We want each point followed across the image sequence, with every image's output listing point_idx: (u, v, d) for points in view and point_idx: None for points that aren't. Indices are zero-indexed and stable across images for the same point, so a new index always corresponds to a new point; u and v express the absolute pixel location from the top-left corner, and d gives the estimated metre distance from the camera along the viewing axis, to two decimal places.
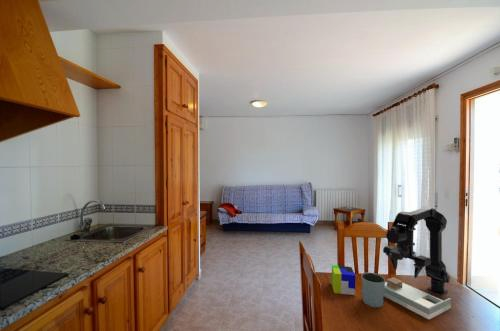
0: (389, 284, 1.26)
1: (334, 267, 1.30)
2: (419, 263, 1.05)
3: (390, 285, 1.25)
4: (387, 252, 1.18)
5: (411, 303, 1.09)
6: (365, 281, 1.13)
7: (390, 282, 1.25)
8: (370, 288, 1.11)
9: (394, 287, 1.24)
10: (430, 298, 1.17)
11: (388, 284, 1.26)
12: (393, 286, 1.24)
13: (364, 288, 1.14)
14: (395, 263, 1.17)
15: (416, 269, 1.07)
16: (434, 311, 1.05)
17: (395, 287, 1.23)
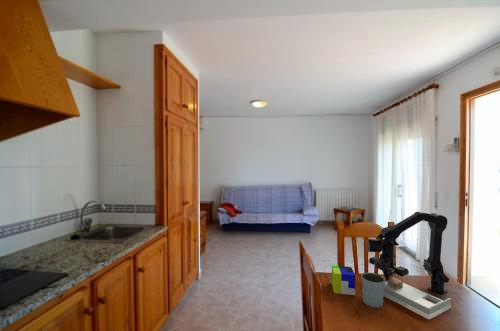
0: (389, 284, 1.26)
1: (334, 267, 1.30)
2: (398, 273, 1.21)
3: (390, 285, 1.25)
4: (372, 263, 1.34)
5: (411, 303, 1.09)
6: (365, 281, 1.13)
7: (390, 282, 1.25)
8: (370, 288, 1.11)
9: (394, 287, 1.23)
10: (430, 298, 1.17)
11: (388, 284, 1.26)
12: (393, 286, 1.24)
13: (364, 288, 1.14)
14: None
15: (388, 275, 1.28)
16: (434, 311, 1.05)
17: (395, 287, 1.23)
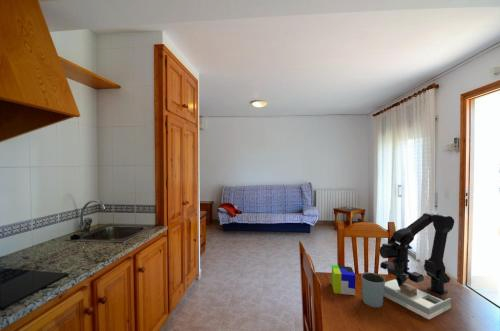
0: (403, 291, 1.19)
1: (334, 267, 1.30)
2: (413, 279, 1.15)
3: (404, 292, 1.19)
4: (384, 267, 1.28)
5: (411, 303, 1.09)
6: (365, 281, 1.13)
7: (404, 289, 1.19)
8: (370, 288, 1.11)
9: (408, 294, 1.17)
10: (430, 298, 1.17)
11: (402, 291, 1.20)
12: (407, 293, 1.18)
13: (364, 288, 1.14)
14: None
15: (401, 280, 1.22)
16: (434, 311, 1.05)
17: (409, 294, 1.17)
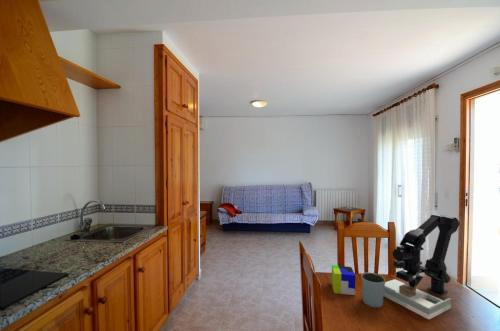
0: (402, 291, 1.19)
1: (334, 267, 1.30)
2: None
3: (403, 292, 1.19)
4: None
5: (411, 303, 1.09)
6: (365, 281, 1.13)
7: (403, 289, 1.19)
8: (370, 288, 1.11)
9: (407, 294, 1.17)
10: (430, 298, 1.17)
11: (401, 291, 1.19)
12: (406, 293, 1.17)
13: (364, 288, 1.14)
14: None
15: None
16: (434, 311, 1.05)
17: (408, 294, 1.16)
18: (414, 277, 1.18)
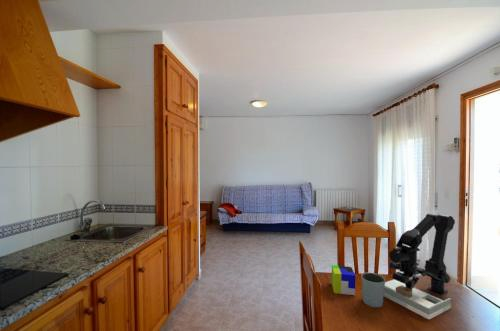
0: None
1: (334, 267, 1.30)
2: None
3: None
4: None
5: (411, 303, 1.09)
6: (365, 281, 1.13)
7: (399, 290, 1.17)
8: (370, 288, 1.11)
9: None
10: (430, 298, 1.17)
11: None
12: None
13: (364, 288, 1.14)
14: None
15: None
16: (434, 311, 1.05)
17: (405, 296, 1.15)
18: (410, 278, 1.16)
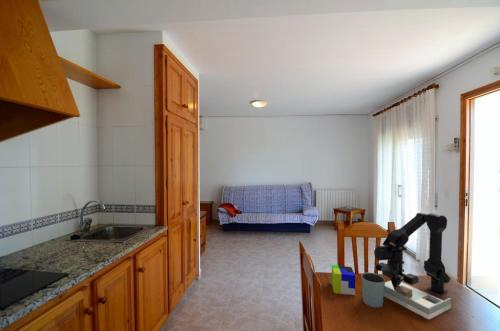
0: None
1: (334, 267, 1.30)
2: (407, 281, 1.13)
3: None
4: (379, 269, 1.26)
5: (411, 303, 1.09)
6: (365, 281, 1.13)
7: (399, 290, 1.17)
8: (370, 288, 1.11)
9: None
10: (430, 298, 1.17)
11: None
12: None
13: (364, 288, 1.14)
14: None
15: (396, 282, 1.20)
16: (434, 311, 1.05)
17: (405, 296, 1.15)
18: None
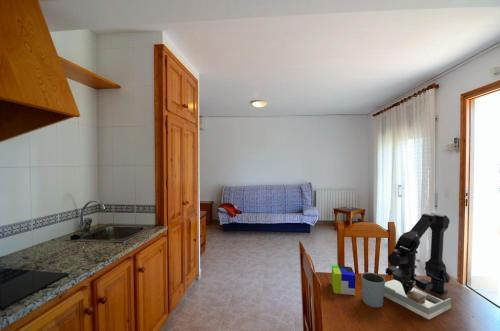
0: None
1: (334, 267, 1.30)
2: (420, 287, 1.08)
3: None
4: (389, 273, 1.21)
5: (411, 303, 1.09)
6: (365, 281, 1.13)
7: (411, 296, 1.12)
8: (370, 288, 1.11)
9: None
10: (430, 298, 1.17)
11: (409, 298, 1.13)
12: (415, 301, 1.11)
13: (364, 288, 1.14)
14: None
15: (408, 287, 1.15)
16: (434, 311, 1.05)
17: (417, 302, 1.10)
18: None
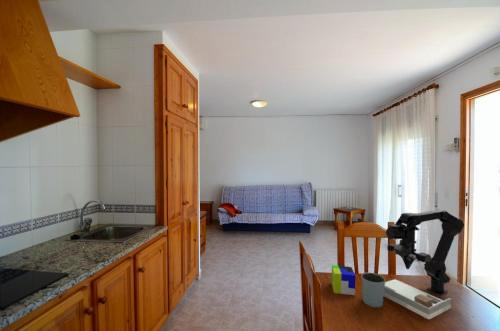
0: (417, 302, 1.10)
1: (334, 267, 1.30)
2: (420, 259, 1.16)
3: (419, 303, 1.09)
4: (391, 249, 1.29)
5: (411, 303, 1.09)
6: (365, 281, 1.13)
7: (419, 300, 1.09)
8: (370, 288, 1.11)
9: None
10: None
11: None
12: None
13: (364, 288, 1.14)
14: None
15: (408, 261, 1.22)
16: (434, 311, 1.05)
17: (425, 306, 1.07)
18: None
